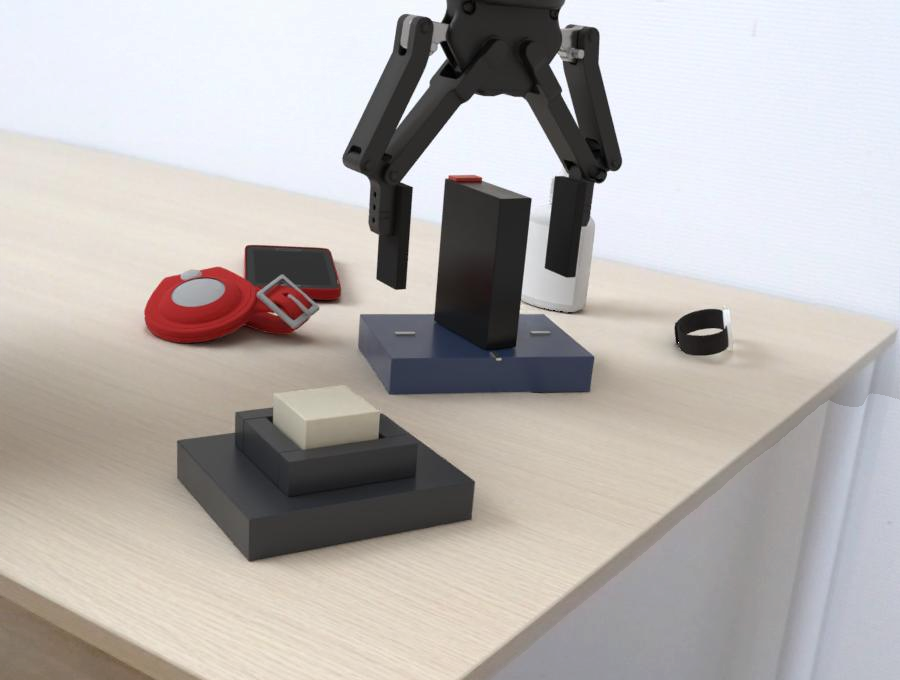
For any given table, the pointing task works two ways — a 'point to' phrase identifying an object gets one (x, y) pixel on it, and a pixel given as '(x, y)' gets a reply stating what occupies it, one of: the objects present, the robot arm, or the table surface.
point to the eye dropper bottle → (545, 284)
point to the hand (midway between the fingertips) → (478, 278)
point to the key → (325, 417)
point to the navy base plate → (471, 357)
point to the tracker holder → (223, 306)
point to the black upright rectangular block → (481, 261)
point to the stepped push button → (318, 487)
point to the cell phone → (294, 269)
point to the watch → (706, 342)
